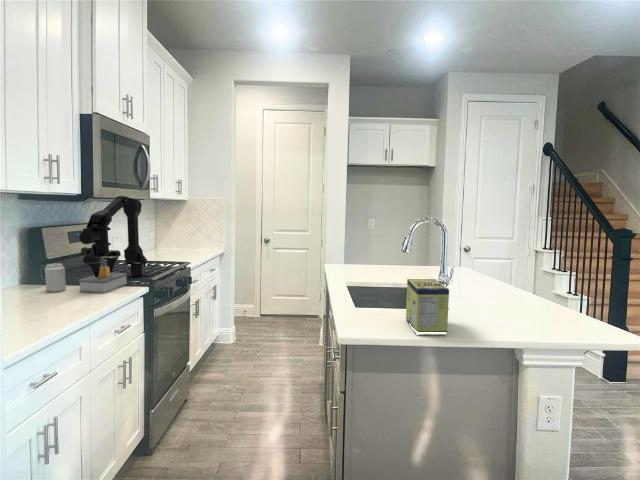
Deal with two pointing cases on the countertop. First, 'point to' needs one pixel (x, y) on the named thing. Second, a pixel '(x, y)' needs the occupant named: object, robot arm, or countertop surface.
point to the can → (55, 277)
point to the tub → (103, 286)
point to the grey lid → (103, 276)
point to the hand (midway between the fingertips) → (103, 274)
